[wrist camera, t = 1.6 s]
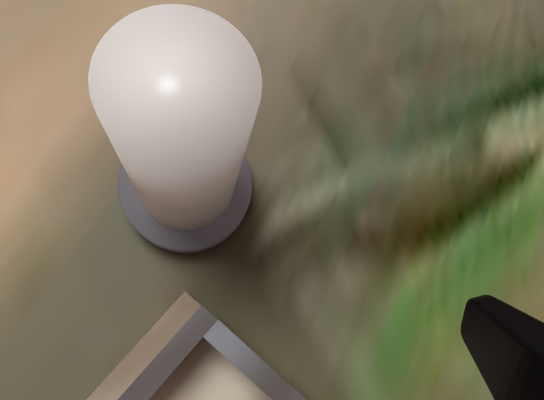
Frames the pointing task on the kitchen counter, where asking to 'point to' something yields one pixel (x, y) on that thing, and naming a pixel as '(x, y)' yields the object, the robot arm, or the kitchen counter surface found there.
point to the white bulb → (178, 122)
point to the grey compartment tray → (192, 363)
